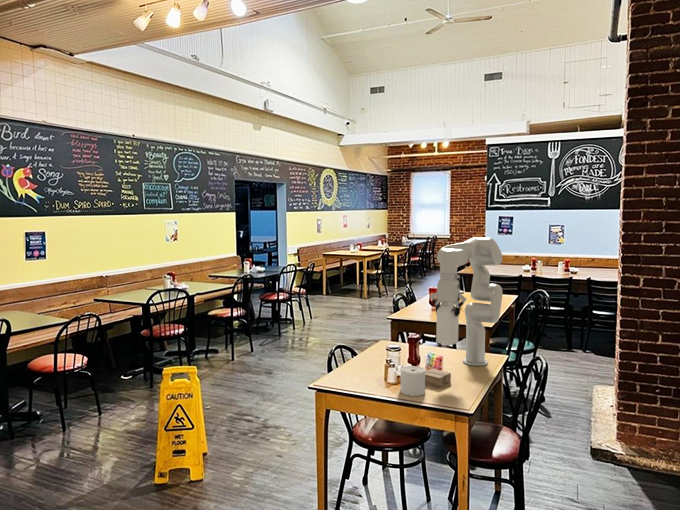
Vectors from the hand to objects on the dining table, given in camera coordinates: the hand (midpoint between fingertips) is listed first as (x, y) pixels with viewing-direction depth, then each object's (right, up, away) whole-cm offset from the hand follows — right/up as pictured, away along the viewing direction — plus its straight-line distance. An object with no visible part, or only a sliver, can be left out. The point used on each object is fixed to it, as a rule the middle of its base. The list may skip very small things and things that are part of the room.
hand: (447, 314), depth 227 cm
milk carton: (0, -13, +1) cm, 13 cm away
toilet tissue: (-18, -33, -10) cm, 39 cm away
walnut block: (-5, -32, +1) cm, 32 cm away
